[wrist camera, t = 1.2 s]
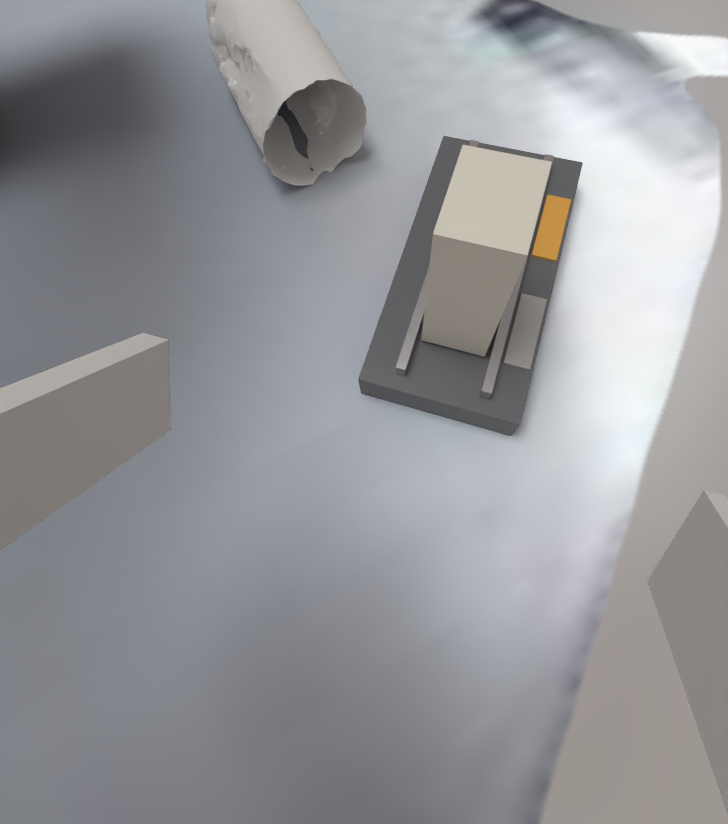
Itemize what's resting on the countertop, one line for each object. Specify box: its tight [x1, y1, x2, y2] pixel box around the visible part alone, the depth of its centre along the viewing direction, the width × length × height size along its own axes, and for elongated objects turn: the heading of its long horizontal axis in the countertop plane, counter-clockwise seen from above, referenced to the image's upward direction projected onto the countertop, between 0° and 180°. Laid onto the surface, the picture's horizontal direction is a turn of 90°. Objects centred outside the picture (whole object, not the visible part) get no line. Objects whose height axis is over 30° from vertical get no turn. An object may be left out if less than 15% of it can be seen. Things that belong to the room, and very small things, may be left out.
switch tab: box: [421, 145, 552, 357], centre depth 25 cm, size 5×4×10 cm
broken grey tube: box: [205, 0, 366, 186], centre depth 37 cm, size 8×19×8 cm, turn 25°
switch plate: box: [358, 136, 582, 435], centre depth 32 cm, size 20×10×4 cm, turn 162°
